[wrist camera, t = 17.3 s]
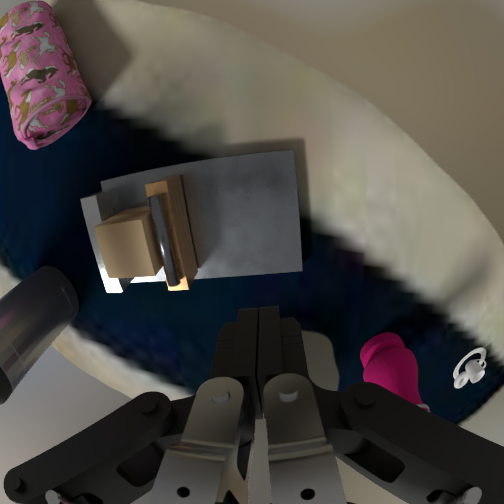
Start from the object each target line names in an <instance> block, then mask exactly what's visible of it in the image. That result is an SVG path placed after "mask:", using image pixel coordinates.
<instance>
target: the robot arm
mask: <svg viewBox="0 0 504 504" xmlns="http://www.w3.org/2000/svg"><path fill="white" fill-rule="evenodd" d="M78 311H79V301H78V297H77V293H76V291H75V289H74V287H73V285H72V284H71V282H70V281H69V280H68V278H67V277H66V276H65V275H64V274H63V273H62V272H61V271H60V270H58V269H57V268H55V267H52V266H48V265H47V266H43V267H41V268H40V269H38V270H37V271H35V272H34V273H33V274H31V275H30V276H29V277H27V278H26V279H25V280H23V281H22V282H21V283H19V284H18V285H17V286H15V287H14V288H13V289H12V290H10V291H9V292H8V293H7V294H5V295H4V296H3V297H2V298H1V299H0V404H3V403H4V402H5V401H6V400H7V399H8V398H9V396H10V395H11V393H12V392H13V391H14V389H15V388H16V387H17V385H18V384H19V383H20V381H21V380H22V379H23V378H24V376H25V375H26V374H27V372H28V371H29V370H30V369H31V367H32V366H33V365H34V364H35V362H36V361H37V360H38V359H39V357H40V356H41V355H42V354H43V353H44V351H45V350H46V349H47V348H48V347H49V346H50V345H51V343H52V342H53V341H54V340H55V339H56V338H57V336H58V335H59V334H60V333H61V332H62V331H63V330H64V329H65V328H66V326H67V325H68V324H69V323H70V322H71V321H72V320H73V319H74V318H75V316H76V315H77V314H78ZM263 412H264V418H265V419H266V427H267V439H268V463H269V474H270V485H271V497H272V503H271V504H355V503H351V502H346V498H345V494H344V489H343V486H342V481H341V478H340V473H339V470H338V465H337V461H336V458H335V456H337V457H338V458H339V459H340V460H342V461H343V462H345V463H346V464H347V465H349V466H350V467H352V468H353V469H355V470H356V471H357V472H359V473H360V474H362V475H364V476H365V477H366V478H368V479H369V480H371V481H372V482H374V483H375V484H377V485H379V486H380V487H382V488H383V489H385V490H387V491H388V492H390V493H392V494H393V495H395V496H397V497H398V498H400V499H402V500H403V501H405V502H407V503H409V504H504V447H503V446H501V445H498V444H496V443H494V442H492V441H489V440H487V439H485V438H483V437H480V436H478V435H476V434H474V433H472V432H469V431H467V430H465V429H463V428H461V427H459V426H457V425H455V424H453V423H451V422H449V421H447V420H445V419H443V418H441V417H439V416H437V415H435V414H433V413H431V412H429V411H427V410H425V409H423V408H421V407H419V406H417V405H415V404H413V403H412V402H410V401H408V400H406V399H404V398H402V397H400V396H399V395H397V394H395V393H393V392H391V391H389V390H388V389H386V388H384V387H382V386H380V385H378V384H376V383H372V382H359V383H356V384H353V385H351V386H349V387H348V388H347V389H346V390H345V391H344V392H339V391H331V390H325V389H322V388H320V387H318V386H317V385H315V384H314V383H313V382H312V381H311V379H310V377H309V375H308V369H307V363H306V357H305V351H304V345H303V338H302V333H301V327H300V324H299V323H298V322H297V321H296V320H295V319H294V318H283V319H279V307H278V306H272V307H260V309H259V308H248V309H239V313H238V320H237V322H230V323H226V324H225V325H224V326H223V328H222V329H221V330H220V331H219V336H218V340H217V345H216V351H215V354H214V358H213V363H212V368H211V372H210V377H209V380H208V381H206V382H205V383H203V384H202V385H201V386H200V388H199V389H198V391H197V394H196V395H193V396H191V397H187V398H183V399H178V400H173V401H170V400H169V398H168V397H167V396H166V395H165V394H163V393H160V392H146V393H143V394H140V395H139V396H137V397H135V398H134V399H132V400H131V401H130V402H128V403H126V404H125V405H123V406H121V407H120V408H118V409H117V410H115V411H114V412H112V413H111V414H109V415H107V416H106V417H104V418H102V419H101V420H99V421H97V422H96V423H94V424H92V425H91V426H89V427H88V428H86V429H84V430H82V431H81V432H79V433H77V434H76V435H74V436H72V437H70V438H69V439H67V440H65V441H64V442H62V443H60V444H58V445H57V446H54V447H53V448H51V449H49V450H47V451H45V452H43V453H42V454H40V455H38V456H36V457H34V458H32V459H30V460H28V461H27V462H24V463H23V464H21V465H19V466H17V467H15V468H13V469H11V470H10V471H8V473H7V474H6V476H5V478H4V490H5V493H6V495H7V496H8V497H9V499H10V500H12V501H13V502H15V503H16V504H130V503H132V502H133V501H135V500H136V499H138V498H140V497H141V496H143V495H144V494H146V493H147V492H149V491H150V490H152V491H151V493H150V496H149V499H148V502H147V504H248V499H249V491H248V481H249V474H250V468H251V461H252V454H253V447H254V440H255V436H254V433H255V419H263Z"/></svg>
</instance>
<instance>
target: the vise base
mask: <svg viewBox="0 0 504 504" xmlns="http://www.w3.org/2000/svg"><path fill="white" fill-rule="evenodd" d="M177 175H180V176H181V183H182V189H183V195H184V200H185V206H186V212H187V217H188V223H189V228H190V233H191V239H192V244H193V249H194V254H195V259H196V263H197V268H198V273H197V275H196V276H195V278H194V279H202V278H217V277H231V276H245V275H258V274H271V273H283V272H295V271H302V253H301V235H300V219H299V205H298V192H297V180H296V169H295V158H294V150H282V151H271V152H261V153H251V154H243V155H235V156H227V157H220V158H213V159H206V160H200V161H193V162H187V163H182V164H176V165H171V166H165V167H160V168H155V169H151V170H146V171H141V172H137V173H132V174H128V175H123V176H119V177H115V178H111V179H107V180H104V181H101V187H102V191H100V192H97V193H95V194H92V195H90V196H87V197H84V198H82V199H80V200H81V204H82V209H83V213H84V217H85V221H86V225H87V229H88V233H89V237H90V240H91V244H92V247H93V251H94V254H95V257H96V261H97V264H98V267H99V270H100V273H101V276H102V279H103V282H104V285H105V288H106V291H107V293H108V292H123V291H124V290H125V288H126V287H127V286H128V285H129V284H130V283H131V282H150V281H166V278H165V274H164V270H163V267H162V268H161V269H160V271H159V272H158V273H157V275H156V276H150V277H132V278H114V279H109V278H108V275H107V272H106V269H105V265H104V262H103V259H102V255H101V252H100V249H99V245H98V242H97V238H96V234H95V230H94V227H95V226H97V225H98V224H100V223H102V222H103V221H105V220H107V219H109V218H110V217H112V216H114V215H116V214H118V213H119V212H121V211H123V210H126V209H131V208H137V207H143V206H149V204H148V199H147V194H146V188H145V184H148V183H150V182H153V181H155V180H158V179H160V178H165V177H171V176H177Z"/></svg>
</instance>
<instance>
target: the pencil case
mask: <svg viewBox="0 0 504 504" xmlns="http://www.w3.org/2000/svg"><path fill="white" fill-rule="evenodd" d="M0 72H1V77H2V81H3V84H4V87H5V90H6V93H7V96H8V102H9V107H10V113H11V118H12V121H13V128H14V132H15V135H16V137H17V139H18V140H20V141H22V142H23V143H24V144H26V145H27V147H28V148H29V149H32V150H35V149H38V148H40V147H43V146H46V145H48V144H51V143H52V142H54V141H56V140H57V139H58V138H60V137H61V136H62V135H64V134H65V133H66V132H67V131H69V130H70V129H71V128H72V127H73V126H74V125H75V124H76V123H77V122H78V121H79V120H80V119H81V118H82V117H83V116H84V115H85V114H86V112H87V110H88V108H89V107H90V105H91V103H92V98H91V96H90V94H89V92H88V90H87V88H86V86H85V84H84V82H83V80H82V78H81V75H80V73H79V71H78V69H77V63H76V60H75V58H74V57H73V54H72V52H71V50H70V47H69V45H68V43H67V40H66V37H65V34H64V31H63V29H62V28H61V26H60V25H59V23H58V21H57V19H56V17H55V15H54V13H53V11H52V8H51V6H50V5H49V4H48V3H46V2H44V1H29V2H25V3H23V4H20V5H18V6H16V7H14V8H13V9H11V10H9V11H8V12H7V13H6V14H5V15H4V16H3V17H2V18H1V20H0Z"/></svg>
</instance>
